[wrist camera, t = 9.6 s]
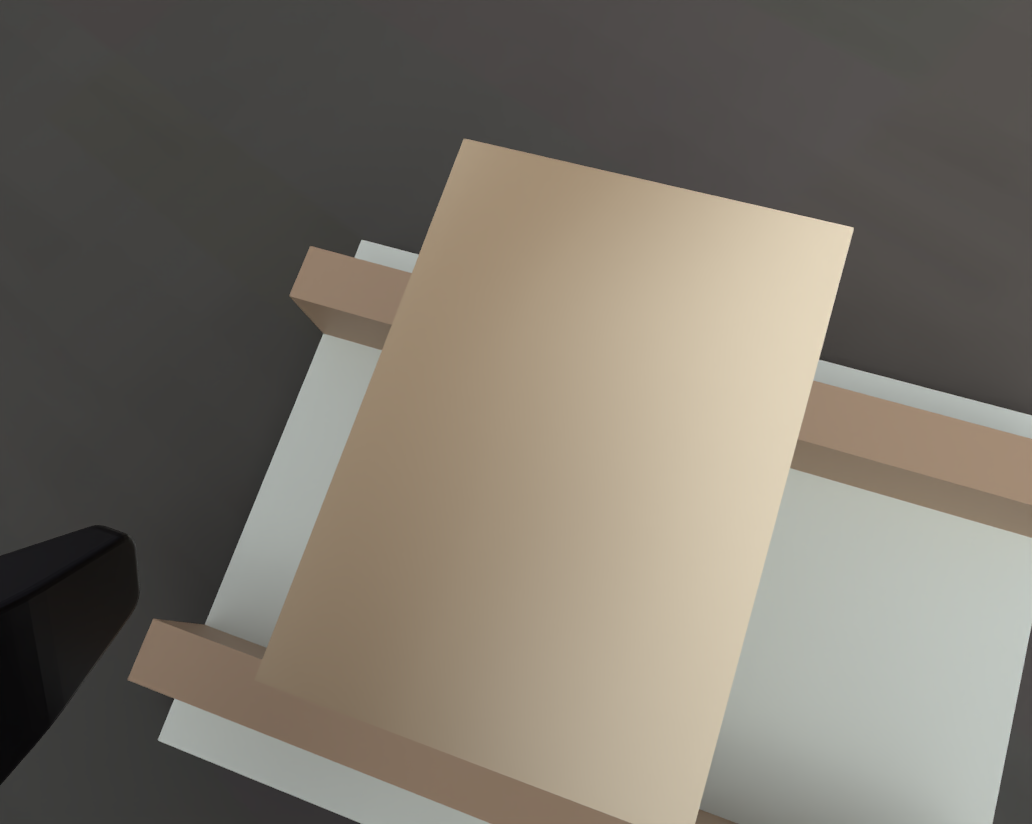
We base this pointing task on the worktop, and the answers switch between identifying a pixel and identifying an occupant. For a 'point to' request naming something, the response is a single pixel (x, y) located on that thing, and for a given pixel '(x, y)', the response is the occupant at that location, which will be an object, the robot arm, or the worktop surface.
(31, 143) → the worktop surface
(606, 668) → the maple plank
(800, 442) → the grooved board
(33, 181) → the worktop surface
